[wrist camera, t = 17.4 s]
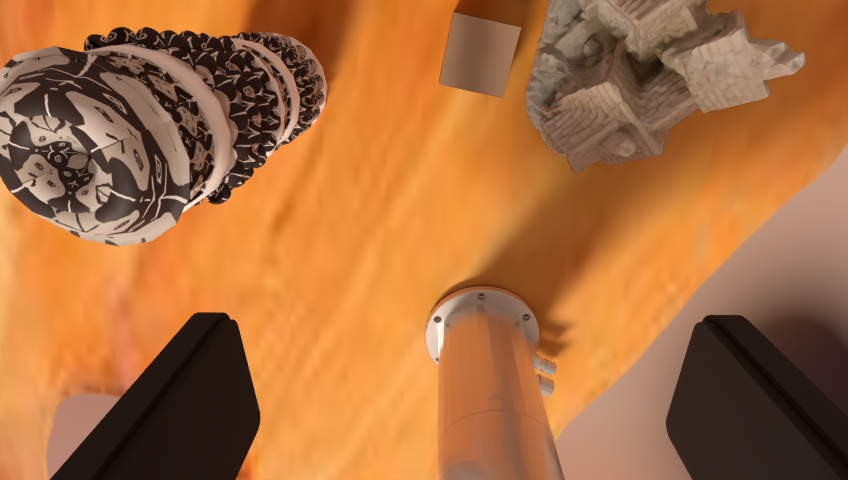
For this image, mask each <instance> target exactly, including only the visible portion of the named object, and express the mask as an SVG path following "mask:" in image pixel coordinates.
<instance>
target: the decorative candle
mask: <svg viewBox="0 0 848 480" xmlns="http://www.w3.org/2000/svg"><path fill="white" fill-rule="evenodd" d="M169 48H170V49H169ZM84 50H85V51H83V52H78V51H74V50H69V49H65V48H60V47H56V46H53V47H49V48H44V49H39V50H35V51H30V52H26V53H21V54H16V55H15V56H14V57H13V58H12V59H11V60H10V61H9V62H8V63H7V64H6V65H5V66H4V67H3V68H2V69H1V70H0V177H1V179H2V180H3V182H4V184H5V185H6V187H7V188H8V190H9V191H10V192H11V193H12V194H13V195H14V196H15V197H16V198H17V199H18V200H20V201H21V202H22V203H23V204H24V205H25V206H26V207H27V208H28V209H29V210H30V211H31V212H33V213H34V214H36V215H38V216H40V217H42V218H44V219H45V220H47V221H49V222H51V223H53V224H55V225H57V226H59V227H61V228H63V229H64V230H66V231H68V232H70V233H72V234H74V235H76V236H78V237H79V238H81V239H85V240H90V241H95V242H100V243H105V244H110V245H115V246H124V245H130V244H137V243H143V242H149V241H152V240H154V239H155V238H157V237H158V236H160V235H161V234H162V233H164V232H165V231H167V230H168V229H170V228H171V227H172V226H174V225H175V224H176V223H177V221H178V219H179V217H180V215H181V213H182V212H184V211H186V210H187V209H188V208H190V207H191V206H195V205H198V204H200V203H201V202H202V201H203V199H204V197H206V198H208V199H207V201H208V202H210V203H212V204H221V203H224V202H225V201H227V200H228V199H229V198H230V196H231V190H232V189H233V188H236V187H239V186H241V185H243V184H244V183H245V181H246V180H248V179H250V178H251V177H252V175H253V173H254V170H253V168H258V167H261V166H263V165H264V164H265V162H266V158H267V157H269V156H270V155H272V153H273V152H274V151H275V150H277V149H279V148H280V146H281V145H284V144H288V143H290V142H291V141H292V140H293V139H294V138H296V137H297V136H298V135H300V134H302V133H304V132H305V131H306V130H307V129H309V128H310V127H311V125H312V124H313V123H314V122H316V121H317V119H318V118H319V116H320V114H321V112H322V111H323V109H324V107H325V105H326V97H327V88H328V86H327V82H326V78H325V74H324V71H323V67H322V65H321V64H320V62H319V61H318V60H317V58H316V57H315V55H314V54H313V52H312V51H311V49H309V48H308V47H306V46H305V45H304V44H302V43H301V42H299V41H298V40H296V39H295V38H294V37H290V36H286V35H281V34H277V33H271V32H268V31H267V32H265V33H264V32H261V31H259V32H258V33H257V34H255V33H252V32H250V33H248V34H246V33H243V32H241V33H239V34H238V35H237V36H235V35H234V36H221V37H220V38H217V37H213V36H209V35H206V34H205V33H201V34H199V35H196V34H195V33H193V32H191V31H183V32H182V33H181V34H180V35H178V34H176V33H175V32H173V31H171V30H167V31H163V32H162V33H160V34H159V33H158V32H157V31H155V30H154V29H152V28H148V27H145V28H142V29H140V30H139V31H138V32H137V34H135V33H134V32H132V31H131V30H130V29H128V28H125V27H119V28H115V29H113V30H112V31H111V32H110V33H109V35H108V38H106V37H104V36H102V35H97V34H93V35H90V36H88V37H87V39H86V40H85V44H84ZM229 175H230V176H229Z"/></svg>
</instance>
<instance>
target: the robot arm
mask: <svg viewBox="0 0 848 480" xmlns="http://www.w3.org/2000/svg"><path fill="white" fill-rule="evenodd" d="M481 293H482V294H481ZM538 342H539V329H538V323H537V321H536V318H535V315H534V313H533V312H532V310H531V308H530V307H529V306H528V305H527V303H526V302H525V301H524V300H522V299H521V298H520V297H518V296H517V295H516V294H514V293H511V292H509V291H507V290H504V289H501V288H497V287H490V286H476V287H469V288H465V289H461V290H459V291H456V292H454V293H452V294H450V295H448V296H447V297H445V298H444V299H442V300H441V301H440V302H439V303H438V304H437V305H436V306H435V307H434V309H433V310H432V312H431V313H430V315H429V317H428V320H427V322H426V328H425V343H426V348H427V350H428V353H429V355H430V357H431V358H432V360H433V361H434V362H435V363H436V364H437V365H438V425H437V469H438V475H439V480H565V479H564V475H563V472H562V469H561V465H560V461H559V458H558V454H557V451H556V447H555V443H554V440H553V436H552V433H551V429H550V425H549V421H548V418H547V414H546V410H545V406H544V403H543V399H542V395H544V396H546V397H548V396H550V395H551V394H552V392H553V390H554V382H553V380H551V379H549V378H546V377H544V376H542V375H539V374H536V373H535V369H534V368H537V369H540V370H541V371H543V372H545V373H547V374H550V375H553V374H554V373H555V371H556V368H557V366H556V364H555V363H554V362H552V361H549V360H547V359H543V358H541V357H539V354H538V353H537V349H536V348H537V345H538ZM541 394H542V395H541ZM259 424H260V411H259V407H258V403H257V399H256V395H255V391H254V387H253V383H252V379H251V375H250V371H249V367H248V363H247V359H246V355H245V351H244V347H243V343H242V339H241V335H240V331H239V327H238V324H237V322H236V321H235V320H230V318H229V316H228V315H227V314H226V313H208V312H199V313H195V314H194V315H193V316H191V318H190V319H189V320H188V321H187V322H186V323H185V325H184V326H183V327H182V328H181V329H180V330H179V331H178V333H177V334H176V335H175V336H174V337H173V338H172V340H171V341H170V342H169V343H168V344H167V345H166V346H165V348H164V349H163V350H162V351H161V352H160V353H159V355H158V356H157V357H156V358H155V359H154V360H153V361H152V363H151V364H150V365H149V366H148V367H147V368H146V369H145V371H144V372H143V373H142V374H141V375H140V376H139V378H138V379H137V380H136V381H135V382H134V383H133V384H132V386H131V387H130V388H129V389H128V390H127V391H126V393H125V394H124V395H123V396H122V397H121V398H120V399H119V401H118V402H117V403H116V404H115V405H114V406H113V408H112V409H111V410H110V411H109V412H108V413H107V414H106V416H105V417H104V418H103V419H102V420H101V421H100V422H99V424H98V425H97V426H96V427H95V428H94V429H93V431H92V432H91V433H90V434H89V435H88V436H87V437H86V439H85V440H84V441H83V442H82V443H81V444H80V446H79V447H78V448H77V449H76V450H75V451H74V453H73V454H72V455H71V456H70V457H69V458H68V459H67V461H66V462H65V463H64V464H63V465H62V466H61V467H60V469H59V470H58V471H57V472H56V473H55V474H54V475H53V477H52V478H51V479H50V480H235V479H236V477H237V475H238V473H239V471H240V468H241V466H242V464H243V462H244V460H245V458H246V455H247V453H248V451H249V449H250V447H251V444H252V442H253V440H254V438H255V436H256V434H257V431H258V428H259ZM666 428H667V432H668V436H669V438H670V440H671V442H672V443H673V445H674V447H675V449H676V451H677V453H678V454H679V456H680V458H681V460H682V462H683V464H684V465H685V467H686V469H687V471H688V472H689V474H690V476H691V478H692V480H848V416H847V415H846V414H845V413H843V411H842V410H840V409H839V407H837V406H836V405H835V404H834V403H833V402H832V401H831V400H830V399H829V398H828V397H827V396H826V395H825V394H824V393H823V392H822V391H821V390H820V389H819V388H818V387H817V386H816V385H815V384H814V383H813V382H812V381H810V380H809V379H808V378H807V377H806V376H805V375H804V374H803V373H802V372H801V371H800V370H799V369H798V368H797V367H796V366H795V365H794V364H793V363H792V362H791V361H789V359H788V358H787V357H785V356H784V355H783V354H782V353H781V352H780V351H779V350H778V349H777V348H776V347H775V346H774V345H773V344H772V343H771V342H770V341H769V340H768V339H767V338H766V337H765V336H764V335H763V334H761V332H759V330H757V329H756V328H755V327H754V326H753V325H752V324H751V323H750V322H749V321H748V320H747V319H746V318H744V317H743V316H740V315H708V316H706V317H705V318H704V319H703V321H702V322H699V323H697V324H696V325H695V327H694V330H693V332H692V335H691V339H690V342H689V345H688V349H687V352H686V356H685V359H684V362H683V365H682V369H681V372H680V375H679V379H678V382H677V385H676V389H675V392H674V395H673V399H672V402H671V405H670V409H669V412H668V415H667V419H666Z"/></svg>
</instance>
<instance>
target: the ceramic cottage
mask: <svg viewBox="0 0 848 480" xmlns="http://www.w3.org/2000/svg"><path fill="white" fill-rule="evenodd" d="M709 2H710V0H549V4H548V8H547V12H546V18H545V20H544V24H543V28H542V32H541V37H540V39H539V42H538V50H537V52H536V57H535V59H534V63H533V67H532V71H531V74H530V78H529V82H528V85H527V88H526V96H525V106H526V110H527V114H528V116H529V118H530V122H531V123H533V126H534V127H535V128H536V129H537V130H539V132H540V135H541V137H542V139H543V141H544V142H546V144H547V146H548V147H549V148H550V149H551V150H552V151H553V152H555V153H556V154H559V155H561V156H564V157H567V161H568V163H569V165H570V166H571V170H572V171H574V172H575V173H577V174H578V173H579V172H580V171H581V170H583V169H585V168H586V167H587V166H589V165H590V164H593V163H595V162H599V161H602V163H603V164H609V165H611V166H612V165H614V164H618V163H622V162H627V161H631V160H637V159H639V158H640V159H643V158H649V157H653V156H657V155H661V153H662V152H663V150H664V148H663V147H664V144H665V142H666V141H665V140H666V138H667V136H668V134H669V130H670V129H671V128H672V127H673V126H675V125H676V124H677V123H679V122H680V121H682V120H684V119H685V118H687V117H688V116H689V115H690V114H691V113H692V112H694V111H696V110H697V109H700V110H701V111H702V112H703V113H706V112H709V111H712V110H717V109H724V108H729V107H733V106H736V105H740V104H745V103H748V102H753V101H757V100H761V99H764V98H766V97H768V96H769V94H770V93H771V91H770V89H769V87H768V84H767V82H766V80H769V79H773V78H777V77H781V76H785V75H793V74H795V73H796V72H797V71H798V70H799V69H800V68H801V67H802V66H803V65H805V64H806V60H805V54H804V52H800V51H790V49H789V46H788V44H786V43H784V42H781V41H777V40H773V39H764V40H762V39H757V38H752V37H751V36H750V34H749V31H748V29H747V27H746V25H745V18H744V17H743V16H742V13H741V12H740V11H739V10H737V9H735V10H734V11H732V12H731V13H729V14H728V13H723V12H722V13H719V14H715V15H710V14H711V13H710V12H709V10H708V9H707V6H708V4H709Z"/></svg>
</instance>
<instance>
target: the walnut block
mask: <svg viewBox="0 0 848 480" xmlns="http://www.w3.org/2000/svg"><path fill="white" fill-rule="evenodd" d="M520 31H521V27H517V26H512V25H508V24H503V23H499V22H495V21H490V20H486V19H481V18H477V17H473V16H468V15H464V14H459V13H455V12H454V13H453V14H452V19H451V24H450V29H449V34H448V39H447V43H446V48H445V53H444V58H443V63H442V68H441V73H440V78H439V84H440V85H445V86H450V87H454V88H459V89H463V90H468V91H472V92H477V93H482V94H486V95H491V96H495V97H500V98H502V97H503V93H504V90H505V86H506V82H507V79H508V75H509V71H510V68H511V64H512V60H513V56H514V53H515V49H516V45H517V42H518V38H519V34H520Z"/></svg>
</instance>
